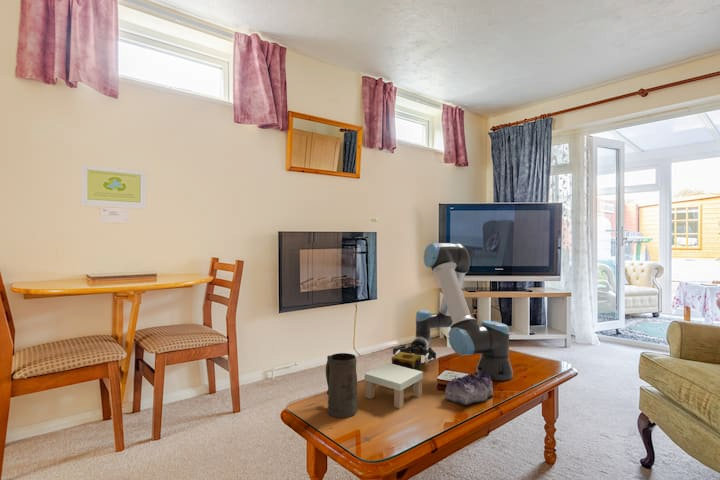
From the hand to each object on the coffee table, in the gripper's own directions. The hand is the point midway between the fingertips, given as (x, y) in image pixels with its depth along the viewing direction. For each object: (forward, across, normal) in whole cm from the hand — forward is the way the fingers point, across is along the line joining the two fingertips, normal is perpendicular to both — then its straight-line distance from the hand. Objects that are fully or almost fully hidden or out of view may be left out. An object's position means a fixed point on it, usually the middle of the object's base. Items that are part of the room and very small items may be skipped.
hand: (410, 358), depth 177 cm
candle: (+10, 0, -6) cm, 11 cm away
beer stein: (+46, +16, -6) cm, 49 cm away
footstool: (+28, 0, -6) cm, 29 cm away
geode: (+20, -27, -6) cm, 34 cm away
